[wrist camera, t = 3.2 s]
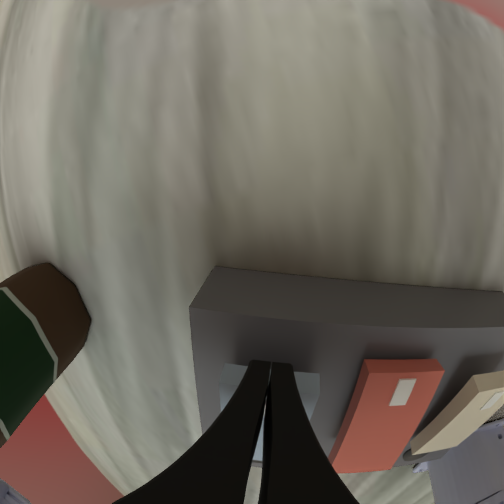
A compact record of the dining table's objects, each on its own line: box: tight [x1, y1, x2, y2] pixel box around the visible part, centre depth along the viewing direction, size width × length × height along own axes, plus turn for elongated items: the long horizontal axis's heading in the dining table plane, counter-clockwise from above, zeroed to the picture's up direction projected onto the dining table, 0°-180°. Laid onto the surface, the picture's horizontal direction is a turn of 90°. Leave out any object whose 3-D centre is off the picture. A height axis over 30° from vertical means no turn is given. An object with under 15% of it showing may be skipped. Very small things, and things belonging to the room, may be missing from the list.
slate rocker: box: [219, 363, 320, 461], centre depth 11 cm, size 4×7×1 cm, turn 177°
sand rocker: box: [410, 370, 504, 455], centre depth 10 cm, size 4×7×1 cm, turn 177°
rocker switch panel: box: [189, 266, 504, 468], centre depth 14 cm, size 18×13×4 cm
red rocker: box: [328, 359, 445, 473], centre depth 10 cm, size 4×7×1 cm, turn 177°
